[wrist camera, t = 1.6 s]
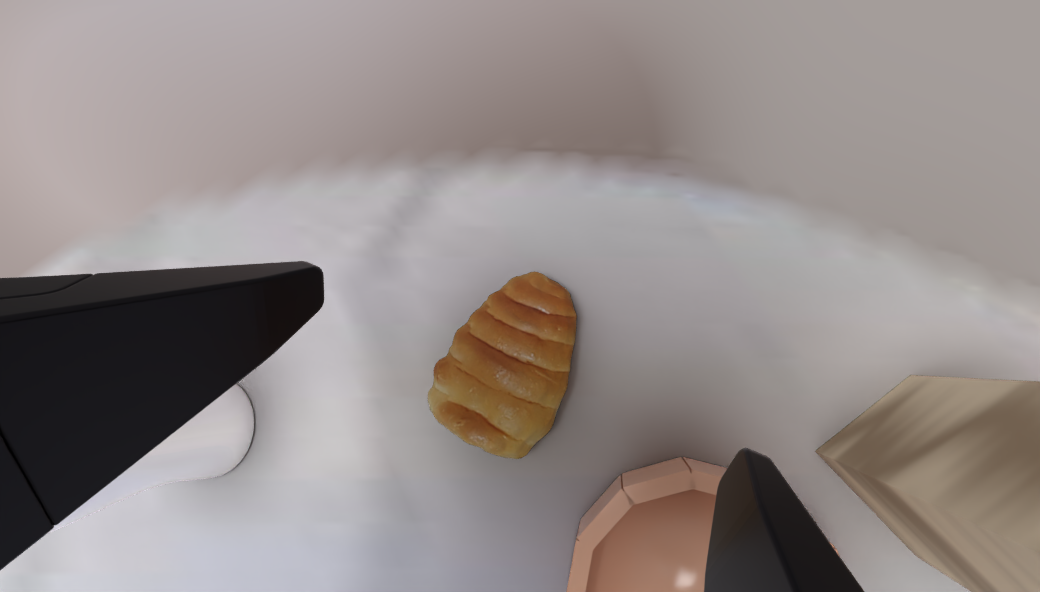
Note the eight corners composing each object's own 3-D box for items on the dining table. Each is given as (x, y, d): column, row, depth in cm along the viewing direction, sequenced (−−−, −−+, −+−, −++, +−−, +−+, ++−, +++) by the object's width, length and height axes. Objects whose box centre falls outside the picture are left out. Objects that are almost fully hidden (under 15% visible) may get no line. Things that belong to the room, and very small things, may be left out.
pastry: (502, 258, 25) (484, 241, 21) (610, 308, 23) (610, 299, 20) (429, 405, 25) (397, 413, 21) (533, 466, 23) (518, 487, 19)
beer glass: (239, 350, 28) (-177, 341, 13) (277, 452, 26) (-151, 569, 11) (157, 402, 28) (-323, 447, 14) (188, 504, 27) (-318, 676, 12)
